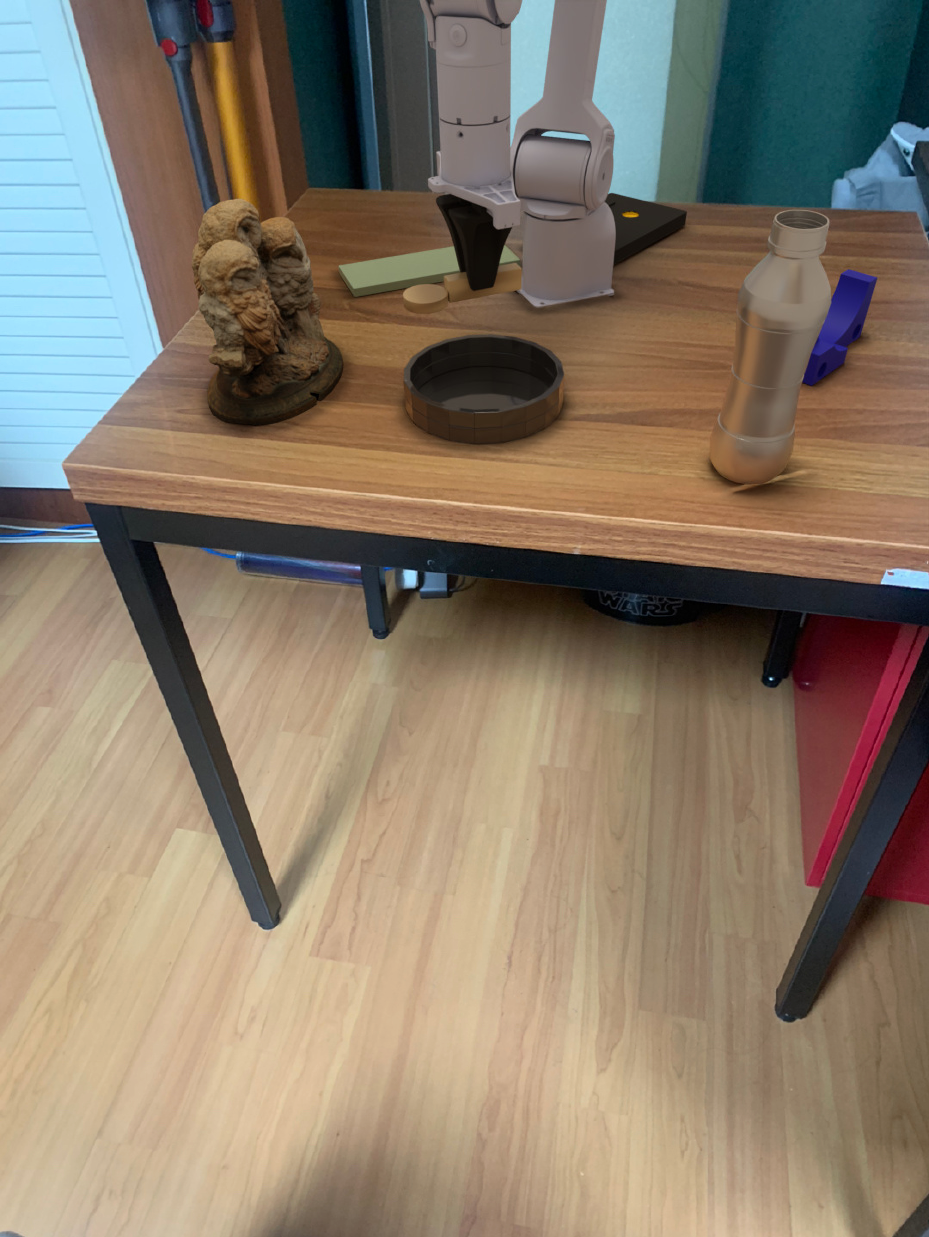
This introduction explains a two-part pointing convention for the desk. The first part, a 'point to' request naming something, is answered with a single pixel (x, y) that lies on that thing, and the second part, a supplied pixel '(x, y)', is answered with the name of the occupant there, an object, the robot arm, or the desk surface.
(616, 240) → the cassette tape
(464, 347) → the pan
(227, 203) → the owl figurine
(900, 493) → the desk surface
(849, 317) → the blue curved bracket
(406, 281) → the board
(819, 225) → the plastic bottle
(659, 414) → the desk surface
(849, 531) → the desk surface
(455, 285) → the wooden paddle
